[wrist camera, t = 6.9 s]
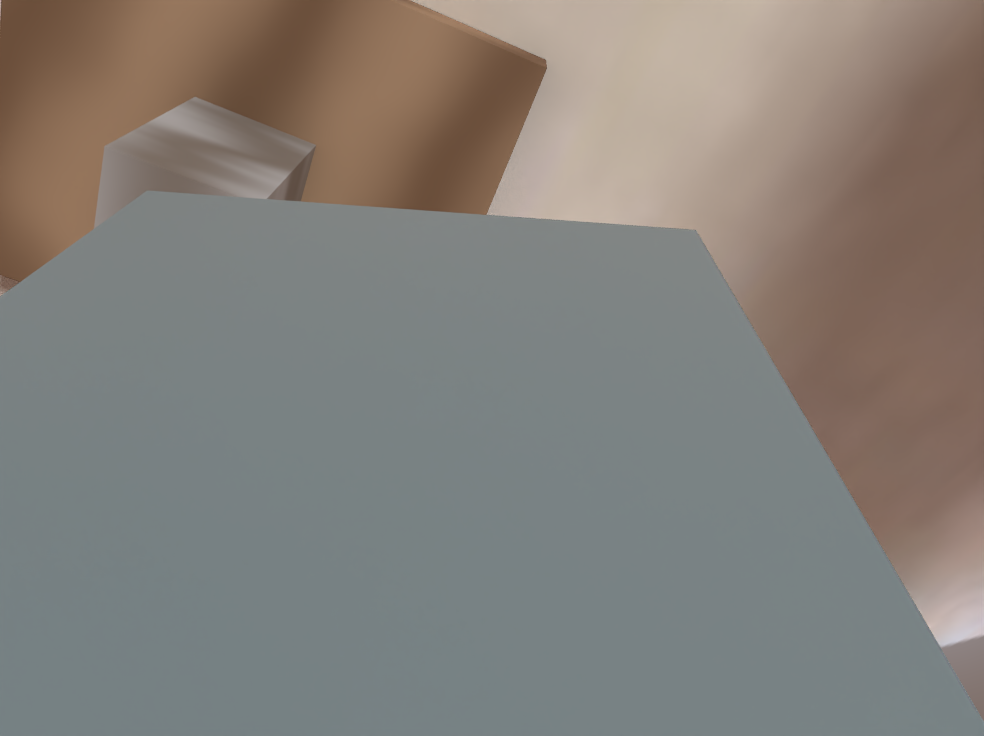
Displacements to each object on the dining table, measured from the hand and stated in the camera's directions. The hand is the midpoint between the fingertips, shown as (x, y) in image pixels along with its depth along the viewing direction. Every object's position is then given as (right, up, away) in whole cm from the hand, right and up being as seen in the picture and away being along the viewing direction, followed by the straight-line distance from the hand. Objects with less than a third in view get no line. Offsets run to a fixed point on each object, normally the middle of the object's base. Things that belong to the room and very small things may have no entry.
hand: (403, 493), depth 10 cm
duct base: (-7, +9, +16) cm, 20 cm away
